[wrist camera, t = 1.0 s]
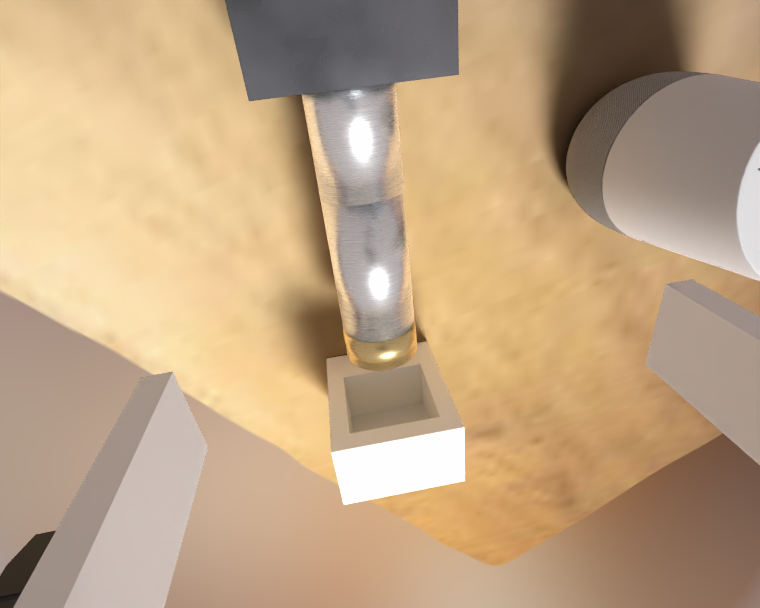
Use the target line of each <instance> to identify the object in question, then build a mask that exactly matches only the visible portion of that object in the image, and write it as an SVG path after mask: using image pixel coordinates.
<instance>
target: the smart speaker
mask: <svg viewBox="0 0 760 608" xmlns="http://www.w3.org/2000/svg"><path fill="white" fill-rule="evenodd" d="M566 175H567V181H568V185H569V188H570V191H571V193H572V195H573V197H574V199H575V200H576V202H577V203H578V205H579V206H580V207H581V208H582V209H583V210H584V211H585V212H586V213H587V214H588V215H589V216H590V217H592V218H593V219H594V220H596V221H597V222H599V223H600V224H602V225H604V226H606V227H608V228H610V229H612V230H614V231H616V232H619V233H621V234H624V235H626V236H629V237H631V238H634V239H637V240H640V241H643V242H646V243H649V244H651V245H654V246H657V247H660V248H663V249H666V250H669V251H672V252H675V253H678V254H681V255H684V256H687V257H690V258H693V259H696V260H699V261H702V262H705V263H708V264H711V265H714V266H717V267H720V268H723V269H726V270H729V271H732V272H735V273H738V274H741V275H743V276H746V277H749V278H752V279H755V280H758V281H760V82H755V81H749V80H744V79H739V78H733V77H728V76H723V75H717V74H708V73H698V72H682V71H676V72H662V73H655V74H650V75H647V76H643V77H640V78H636V79H634V80H631V81H629V82H627V83H624V84H622V85H620V86H618V87H617V88H615V89H613V90H612V91H610V92H609V93H607V94H606V95H605V96H604V97H602V98H601V99H600V100H599V101H598V102H597V103H596V104H595V105H594V106H593V107H592V108H591V109H590V110H589V111H588V112H587V114H586V115H585V116H584V117H583V119H582V120H581V122H580V123H579V125H578V127H577V128H576V130H575V132H574V134H573V137H572V139H571V142H570V145H569V148H568V153H567V159H566Z"/></svg>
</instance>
